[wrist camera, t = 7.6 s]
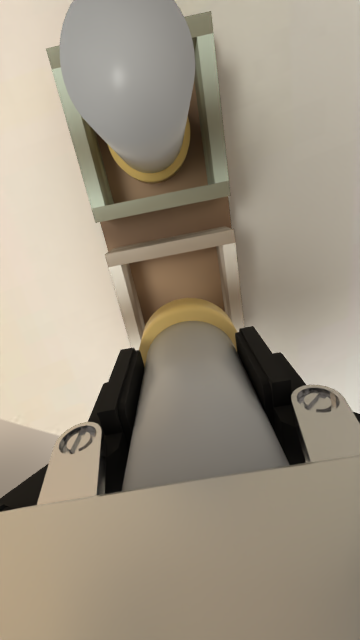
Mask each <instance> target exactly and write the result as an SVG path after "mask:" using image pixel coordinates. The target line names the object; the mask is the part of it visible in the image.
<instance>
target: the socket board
mask: <svg viewBox="0 0 360 640" xmlns="http://www.w3.org/2000/svg"><path fill="white" fill-rule="evenodd" d="M184 18H185V20H186V22H187V25H188V27H189V30H190V34H191V37H192V41H193V46H194V53H195V77H194V85H193V90H192V95H191V100H190V106H189V111H188V119H189V124H190V143H189V148H188V151H187V155H186V158H185V160H184V163H183V164H182V166H181V168H180V169H179V171H178V172H177V173H176V174H175V175H174V176H172V177H171V178H170V179H168V180H166V181H164V182H161V183H155V184H148V183H143V182H140V181H138V180H136V179H134V178H132V177H131V176H130V175H129V174H127V173H126V172H125V171H124V170H123V169H122V168H121V167H120V166H119V165H118V164H117V163H116V161H115V160H114V158H113V156H112V155H111V152H110V150H109V147H108V144H107V143H106V142H105V141H104V140H103V139H102V138H101V137H100V136H99V135H98V134H97V133H96V131H95V130H94V129H93V128H92V127H91V126H90V125H89V124H88V123H87V122H86V121H85V120H84V119H83V118H82V116H81V115H80V114H79V112H78V111H77V109H76V108H75V106H74V104H73V103H72V101H71V99H70V96H69V94H68V92H67V89H66V86H65V83H64V80H63V76H62V71H61V65H60V46H55V47H51V48H47V49H46V51H47V54H48V58H49V61H50V65H51V68H52V72H53V75H54V79H55V82H56V86H57V89H58V93H59V96H60V100H61V103H62V107H63V110H64V114H65V117H66V121H67V124H68V128H69V131H70V135H71V138H72V142H73V145H74V149H75V152H76V156H77V159H78V163H79V166H80V170H81V173H82V177H83V180H84V184H85V187H86V191H87V194H88V198H89V201H90V205H91V208H92V212H93V215H94V219H95V222H96V223H97V222H100V223H101V227H102V230H103V234H104V237H105V241H106V245H107V248H108V253H106V254H105V257H106V261H107V264H108V268H109V271H110V275H111V278H112V282H113V285H114V289H115V292H116V296H117V299H118V303H119V306H120V310H121V313H122V317H123V320H124V324H125V327H126V331H127V334H128V338H129V341H130V345H131V348H135V350H139V347H140V343H141V339H142V335H143V331H144V328H145V326H146V323H147V322H148V320H149V318H150V317H151V316H152V315H153V313H155V312H156V311H157V310H158V309H159V308H160V307H162V306H163V305H165V304H167V303H169V302H171V301H174V300H178V299H183V298H197V299H203V300H206V301H209V302H211V303H213V304H215V305H217V306H218V307H220V308H221V309H222V310H223V311H224V312H225V313H226V314H227V315H228V317H229V318H230V319H231V321H232V323H233V325H234V327H235V329H236V330H237V332H239V329H240V328H244V319H243V310H242V300H241V291H240V281H239V272H238V262H237V253H236V243H235V234H234V229H232V228H231V219H230V209H229V200H228V196H230V186H229V177H228V168H227V158H226V149H225V139H224V130H223V120H222V111H221V101H220V92H219V82H218V73H217V63H216V54H215V44H214V35H213V26H212V16H211V11H209V12H205V13H200V14H196V15H192V16H187V17H184Z"/></svg>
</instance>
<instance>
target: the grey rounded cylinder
mask: <svg viewBox="0 0 360 640" xmlns="http://www.w3.org/2000/svg"><path fill="white" fill-rule="evenodd" d="M235 333H237V330H236V329H235V327H234V325H233V323H232V321H231V319H230V318H229V317H228V315H227V314H226V313H225V312H224V311H223V310H222V309H221V308H220V307H218V306H217V305H215V304H213V303H211V302H209V301H206V300H203V299H197V298H183V299H178V300H174V301H171V302H169V303H167V304H165V305H163V306H162V307H160V308H159V309H158V310H157V311H156V312H155V313H153V315H152V316H151V317H150V318H149V320H148V322H147V323H146V326H145V328H144V331H143V335H142V339H141V343H140V347H139V350H140V352H141V356H142V359H143V363H144V367H145V368H144V374H143V379H142V384H141V390H140V395H139V400H138V406H137V411H136V416H135V422H134V427H133V433H132V438H131V443H130V449H129V454H128V459H127V465H126V470H125V475H124V481H123V486H122V491H127V490H133V489H139V488H145V487H152V486H158V485H164V484H171V483H177V482H184V481H190V480H196V479H203V478H209V477H216V476H222V475H229V474H235V473H242V472H248V471H255V470H261V469H268V468H275V467H281V466H288V465H289V462H288V460H287V458H286V456H285V454H284V452H283V450H282V447H281V445H280V443H279V441H278V439H277V437H276V435H275V432H274V430H273V428H272V426H271V424H270V422H269V420H268V417H267V415H266V413H265V411H264V409H263V407H262V405H261V402H260V400H259V398H258V396H257V394H256V392H255V390H254V387H253V385H252V383H251V381H250V379H249V377H248V375H247V372H246V370H245V368H244V366H243V364H242V362H241V359H240V357H239V355H238V353H237V347H236V339H235Z"/></svg>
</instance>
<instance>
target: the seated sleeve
mask: <svg viewBox="0 0 360 640" xmlns="http://www.w3.org/2000/svg"><path fill="white" fill-rule="evenodd" d="M60 65H61V71H62V76H63V80H64V83H65V86H66V89H67V92H68V94H69V96H70V99H71V101H72V103H73V104H74V106H75V108H76V109H77V111H78V112H79V114H80V115H81V116H82V118H83V119H84V120H85V121H86V122H87V123H88V124H89V125H90V126H91V127H92V128H93V129H94V130H95V131H96V133H97V134H98V135H99V136H100V137H101V138H102V139H103V140H104V141H105V142H106V143H107V144H108V147H109V150H110V152H111V155H112V156H113V158H114V160H115V161H116V163H117V164H118V165H119V166H120V167H121V168H122V169H123V170H124V171H125V172H126V173H127V174H129V175H130V176H131V177H132V178H134V179H136V180H138V181H140V182H143V183H148V184H155V183H161V182H164V181H166V180H168V179H170V178H171V177H172V176H174V175H175V174H176V173H177V172H178V171H179V169H180V168H181V166H182V164H183V163H184V160H185V158H186V155H187V151H188V148H189V143H190V124H189V119H188V111H189V106H190V100H191V95H192V90H193V85H194V77H195V53H194V46H193V41H192V37H191V34H190V30H189V27H188V25H187V22H186V20H185V18H184V16H183V14H182V12H181V10H180V9H179V7H178V6H177V4H176V3H175V1H174V0H73V2H72V3H71V5H70V7H69V9H68V12H67V14H66V17H65V20H64V23H63V26H62V31H61V37H60Z"/></svg>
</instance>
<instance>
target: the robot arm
mask: <svg viewBox="0 0 360 640" xmlns="http://www.w3.org/2000/svg"><path fill="white" fill-rule="evenodd" d="M235 339H236V347H237V353H238V355H239V357H240V359H241V362H242V364H243V366H244V368H245V370H246V372H247V375H248V377H249V379H250V381H251V383H252V385H253V387H254V390H255V392H256V394H257V396H258V398H259V400H260V402H261V405H262V407H263V409H264V411H265V413H266V415H267V417H268V420H269V422H270V424H271V426H272V428H273V430H274V432H275V435H276V437H277V439H278V441H279V443H280V445H281V447H282V450H283V452H284V454H285V456H286V458H287V460H288V462H289V465H288V466H281V467H275V468H268V469H261V470H255V471H248V472H242V473H235V474H229V475H222V476H216V477H209V478H203V479H196V480H190V481H184V482H177V483H171V484H164V485H158V486H152V487H145V488H139V489H133V490H127V491H122V486H123V481H124V475H125V470H126V465H127V459H128V454H129V449H130V443H131V438H132V433H133V427H134V422H135V416H136V411H137V406H138V400H139V395H140V390H141V384H142V379H143V374H144V368H145V367H144V363H143V359H142V356H141V352H140V350H135V348H129V349H123V350H121V351H120V353H119V356H118V358H117V361H116V363H115V366H114V369H113V371H112V374H111V376H110V379H109V382H107V383H104V384H103V386H102V389H101V391H100V393H99V396H98V398H97V401H96V403H95V406H94V408H93V411H92V413H91V415H90V418H89V420H88V422H85V423H80V424H78V425H75V426H73V427H71V428H70V429H68V430H66V431H65V432H64V433H63V434H62V435H61V436H60V437H59V438H58V439H57V441H56V443H55V445H54V448H53V451H52V455H51V458H50V461H49V464H47V465H46V466H45V467H43V468H42V469H40V470H39V471H38V472H36V473H35V474H33V475H32V476H31V477H29V478H28V479H27V480H25V481H24V482H22V483H21V484H20V485H18V486H17V487H16V488H14V489H13V490H11V491H10V492H9V493H7V494H6V495H5V496H3V497H2V498H0V640H360V414H358V413H355V412H352V410H351V408H350V407H349V405H348V403H347V402H346V400H345V398H344V397H343V396H342V395H341V394H340V393H339V392H337V391H336V390H334V389H332V388H329V387H327V386H322V385H306V384H305V383H304V381H303V380H302V379H301V378H300V376H299V375H298V374H297V372H296V371H295V370H294V369H293V367H292V366H291V365H290V363H289V362H288V361H287V360H286V358H285V357H284V356H283V354H282V353H274V354H272V352H271V351H270V349H269V348H268V347H267V345H266V344H265V342H264V341H263V340H262V338H261V337H260V335H259V334H258V332H257V331H256V330H255V328H254V327H253V326H251V327H246V328H240V329H239V332H237V333H235Z"/></svg>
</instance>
